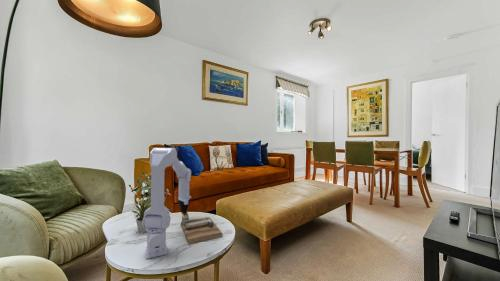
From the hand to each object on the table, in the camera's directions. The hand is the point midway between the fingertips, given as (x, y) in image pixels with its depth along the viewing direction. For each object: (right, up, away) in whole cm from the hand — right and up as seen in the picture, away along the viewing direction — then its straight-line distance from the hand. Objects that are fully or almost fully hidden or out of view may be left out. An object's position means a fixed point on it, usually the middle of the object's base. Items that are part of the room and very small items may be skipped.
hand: (183, 213), depth 113 cm
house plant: (-17, -6, -10) cm, 21 cm away
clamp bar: (+11, -2, -9) cm, 14 cm away
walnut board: (+11, -6, -9) cm, 15 cm away
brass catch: (+2, 0, -5) cm, 5 cm away
